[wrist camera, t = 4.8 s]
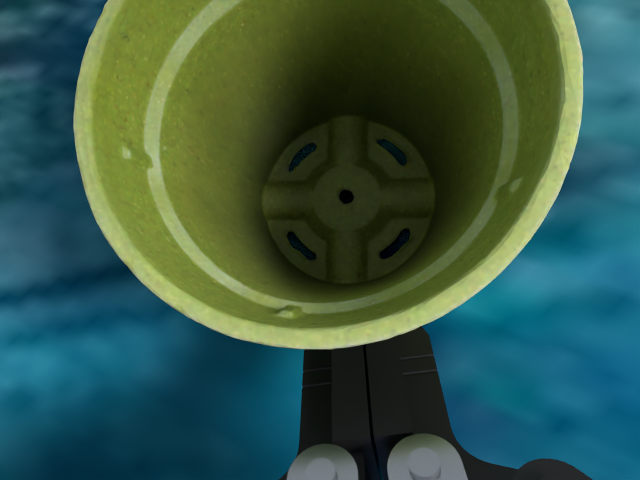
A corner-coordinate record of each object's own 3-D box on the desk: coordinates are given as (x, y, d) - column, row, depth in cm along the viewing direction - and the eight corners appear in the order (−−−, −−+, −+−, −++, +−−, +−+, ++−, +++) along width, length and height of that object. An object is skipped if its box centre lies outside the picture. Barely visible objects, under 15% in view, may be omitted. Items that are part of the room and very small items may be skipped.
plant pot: (546, 188, 16) (711, 39, 8) (358, 397, 16) (321, 475, 8) (342, 33, 18) (301, -215, 10) (172, 215, 18) (-18, 117, 10)
